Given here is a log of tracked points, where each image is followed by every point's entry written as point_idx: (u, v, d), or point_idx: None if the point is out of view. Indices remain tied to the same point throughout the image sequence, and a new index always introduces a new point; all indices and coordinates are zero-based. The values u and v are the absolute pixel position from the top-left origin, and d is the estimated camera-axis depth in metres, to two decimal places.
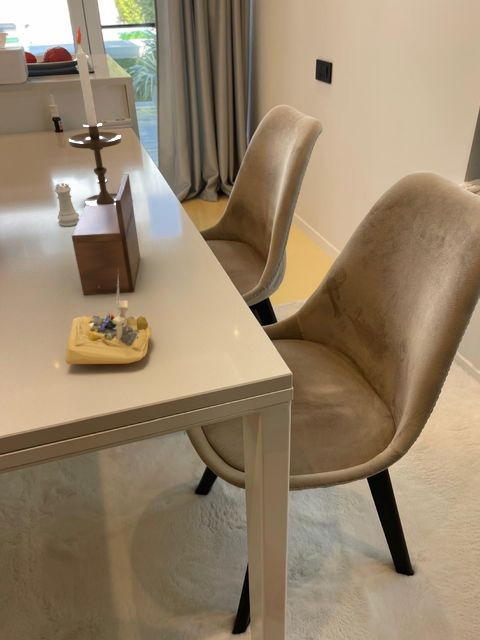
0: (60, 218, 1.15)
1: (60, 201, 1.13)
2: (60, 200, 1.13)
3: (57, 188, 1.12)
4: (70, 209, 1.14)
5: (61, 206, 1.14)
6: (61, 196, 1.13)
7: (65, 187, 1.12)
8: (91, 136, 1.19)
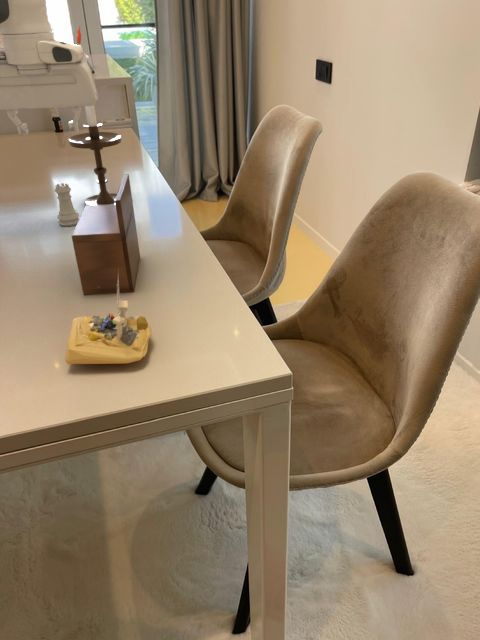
0: (60, 218, 1.15)
1: (60, 201, 1.13)
2: (60, 200, 1.13)
3: (57, 188, 1.12)
4: (70, 209, 1.14)
5: (61, 206, 1.14)
6: (61, 196, 1.13)
7: (65, 187, 1.12)
8: (91, 136, 1.19)
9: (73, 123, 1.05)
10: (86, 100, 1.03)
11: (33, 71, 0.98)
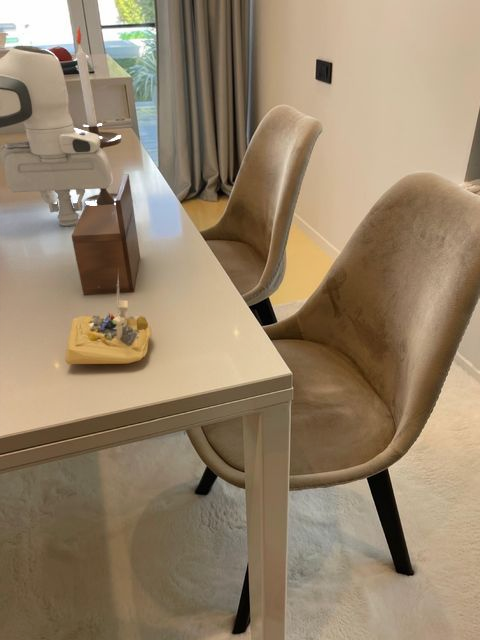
0: (60, 218, 1.15)
1: (60, 201, 1.13)
2: (60, 200, 1.13)
3: None
4: (69, 209, 1.14)
5: (61, 206, 1.14)
6: (61, 196, 1.13)
7: None
8: None
9: (77, 203, 1.14)
10: (102, 183, 1.12)
11: (54, 160, 1.07)
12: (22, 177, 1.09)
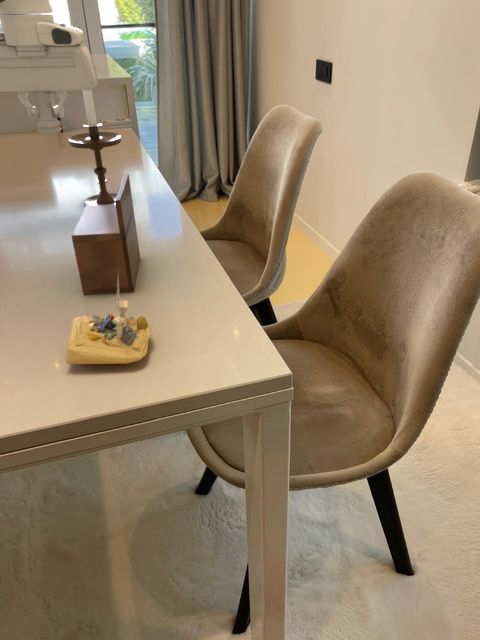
0: (39, 124, 1.05)
1: (39, 105, 1.03)
2: (39, 103, 1.03)
3: None
4: (50, 114, 1.04)
5: (40, 111, 1.04)
6: (40, 99, 1.03)
7: None
8: (91, 136, 1.19)
9: (58, 108, 1.04)
10: (85, 84, 1.02)
11: (32, 53, 0.97)
12: None
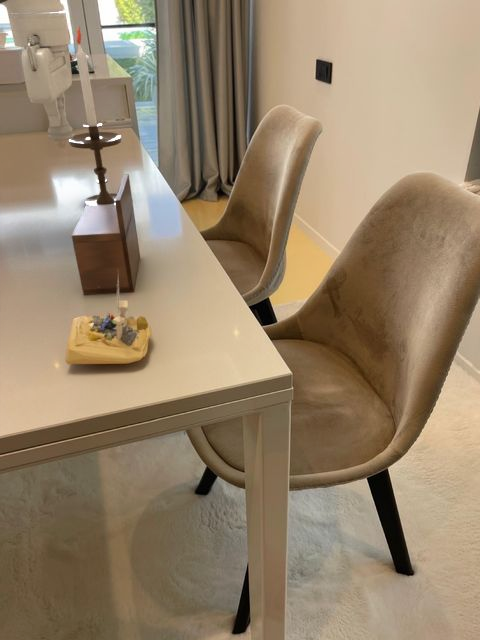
0: (68, 130, 0.99)
1: (60, 109, 0.97)
2: (61, 108, 0.97)
3: None
4: None
5: (62, 115, 0.98)
6: (61, 102, 0.97)
7: None
8: (91, 136, 1.19)
9: (64, 109, 1.00)
10: (70, 80, 1.03)
11: (64, 52, 0.94)
12: (52, 80, 0.89)
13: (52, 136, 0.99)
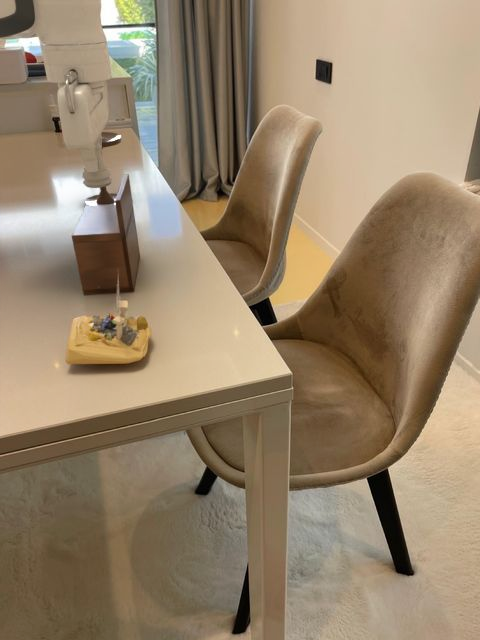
0: (105, 175, 0.85)
1: (98, 152, 0.84)
2: (98, 150, 0.84)
3: None
4: None
5: (100, 159, 0.84)
6: (98, 144, 0.84)
7: None
8: None
9: (101, 151, 0.87)
10: (107, 116, 0.90)
11: (104, 87, 0.80)
12: (92, 121, 0.76)
13: (87, 182, 0.85)
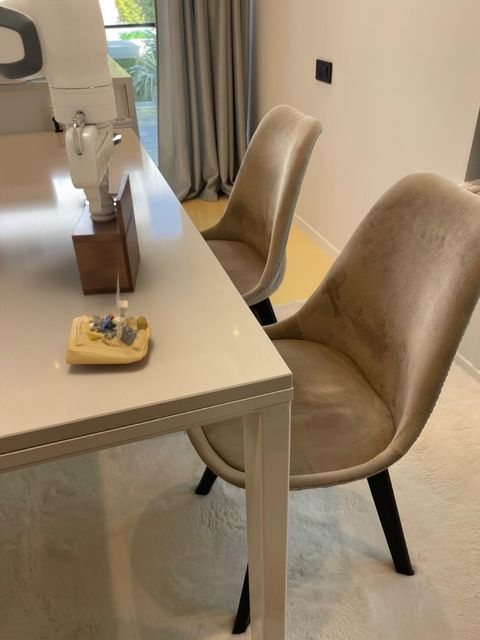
0: (111, 210, 0.88)
1: (104, 188, 0.87)
2: (104, 186, 0.87)
3: None
4: None
5: (106, 194, 0.87)
6: (104, 181, 0.87)
7: None
8: None
9: (108, 180, 0.92)
10: (112, 150, 0.92)
11: (110, 126, 0.83)
12: (98, 161, 0.79)
13: (94, 217, 0.88)
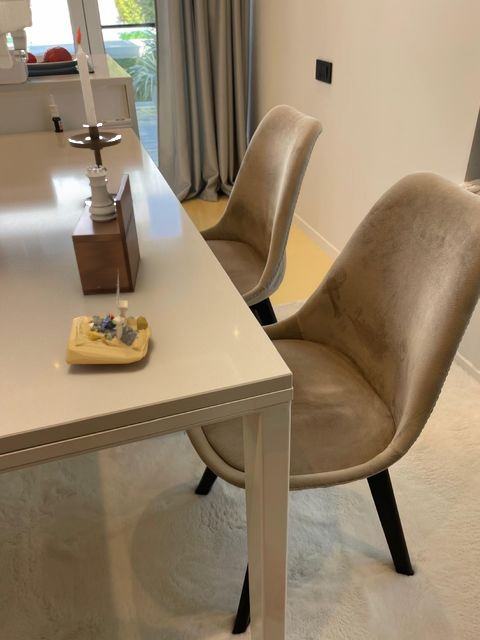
0: (111, 210, 0.88)
1: (104, 188, 0.87)
2: (104, 186, 0.87)
3: (101, 171, 0.85)
4: None
5: (106, 194, 0.87)
6: (104, 181, 0.87)
7: (101, 167, 0.87)
8: (91, 136, 1.19)
9: (26, 50, 0.92)
10: (30, 20, 0.92)
11: None
12: (2, 9, 0.79)
13: (94, 217, 0.88)
